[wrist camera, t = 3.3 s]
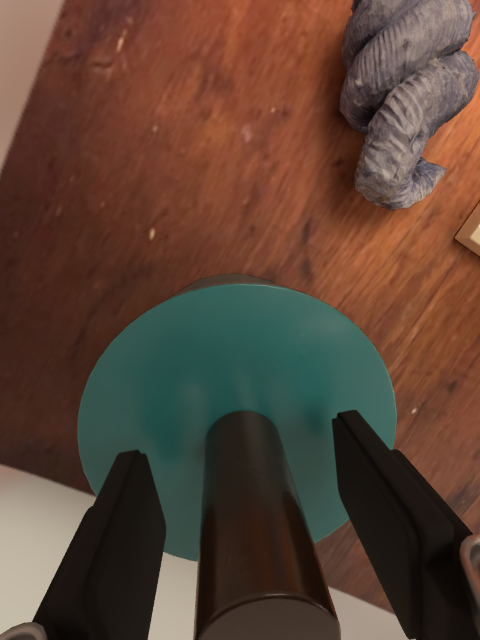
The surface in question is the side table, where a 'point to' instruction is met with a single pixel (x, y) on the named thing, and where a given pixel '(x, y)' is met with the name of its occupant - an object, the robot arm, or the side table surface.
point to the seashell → (404, 90)
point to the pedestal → (471, 231)
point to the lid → (240, 443)
